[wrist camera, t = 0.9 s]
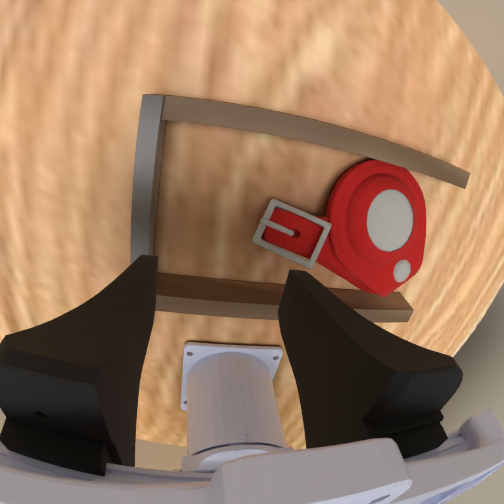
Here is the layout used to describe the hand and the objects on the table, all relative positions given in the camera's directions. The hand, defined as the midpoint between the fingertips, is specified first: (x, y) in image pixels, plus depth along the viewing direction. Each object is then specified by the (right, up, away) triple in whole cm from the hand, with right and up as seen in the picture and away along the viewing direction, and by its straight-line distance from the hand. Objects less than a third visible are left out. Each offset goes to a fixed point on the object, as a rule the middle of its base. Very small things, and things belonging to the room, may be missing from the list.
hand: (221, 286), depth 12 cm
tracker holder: (+8, +4, +9) cm, 13 cm away
